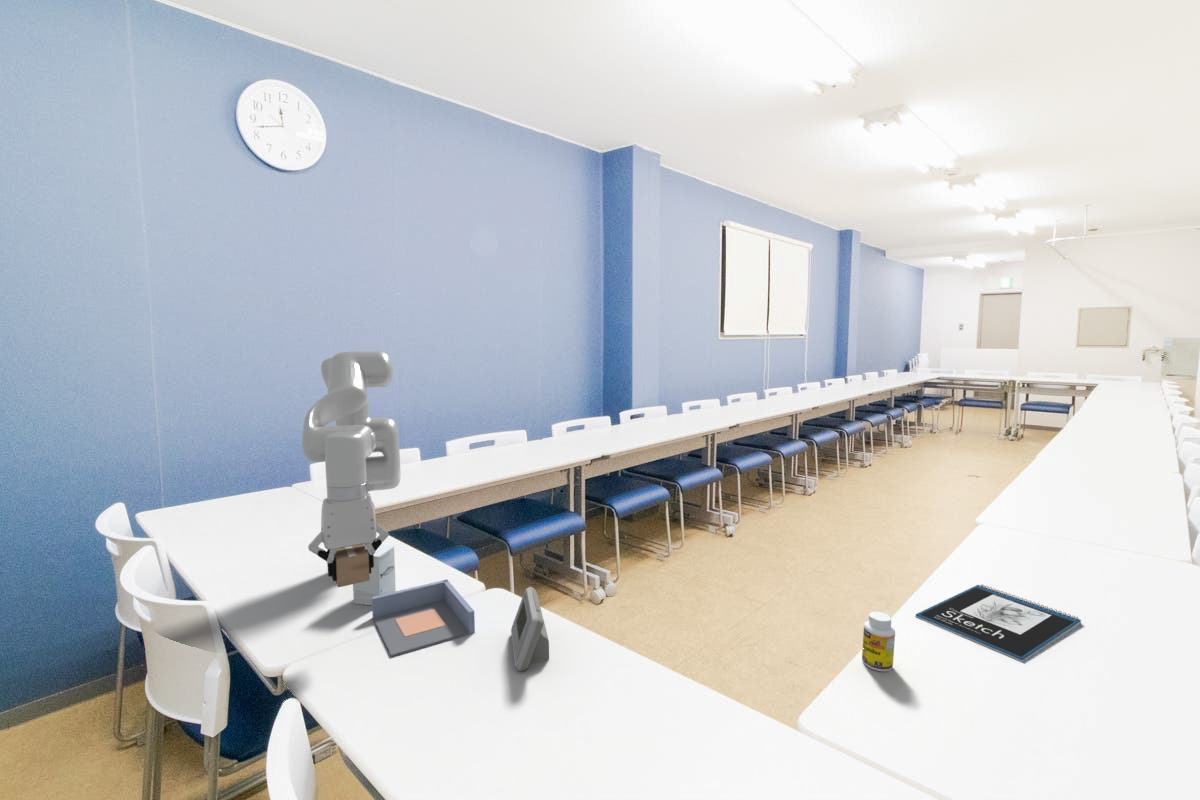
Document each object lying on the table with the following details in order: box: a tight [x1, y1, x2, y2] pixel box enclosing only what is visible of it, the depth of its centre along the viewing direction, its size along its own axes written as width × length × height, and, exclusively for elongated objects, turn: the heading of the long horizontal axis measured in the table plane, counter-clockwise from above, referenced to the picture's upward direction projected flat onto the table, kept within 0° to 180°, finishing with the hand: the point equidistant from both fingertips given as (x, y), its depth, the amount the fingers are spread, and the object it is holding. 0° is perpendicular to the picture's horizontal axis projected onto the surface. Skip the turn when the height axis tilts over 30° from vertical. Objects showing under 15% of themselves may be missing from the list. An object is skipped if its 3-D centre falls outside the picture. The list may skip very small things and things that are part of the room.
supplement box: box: [352, 544, 397, 606], centre depth 138 cm, size 7×7×13 cm
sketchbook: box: [914, 583, 1082, 663], centre depth 129 cm, size 22×30×2 cm
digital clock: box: [510, 586, 550, 672], centre depth 115 cm, size 16×9×11 cm, turn 1°
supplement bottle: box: [861, 611, 896, 672], centre depth 110 cm, size 6×6×10 cm
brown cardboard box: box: [334, 544, 370, 588], centre depth 116 cm, size 6×6×6 cm
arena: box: [371, 579, 476, 658], centre depth 126 cm, size 19×18×5 cm
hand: (351, 574), depth 117 cm, fingers closed on brown cardboard box, 6 cm apart
